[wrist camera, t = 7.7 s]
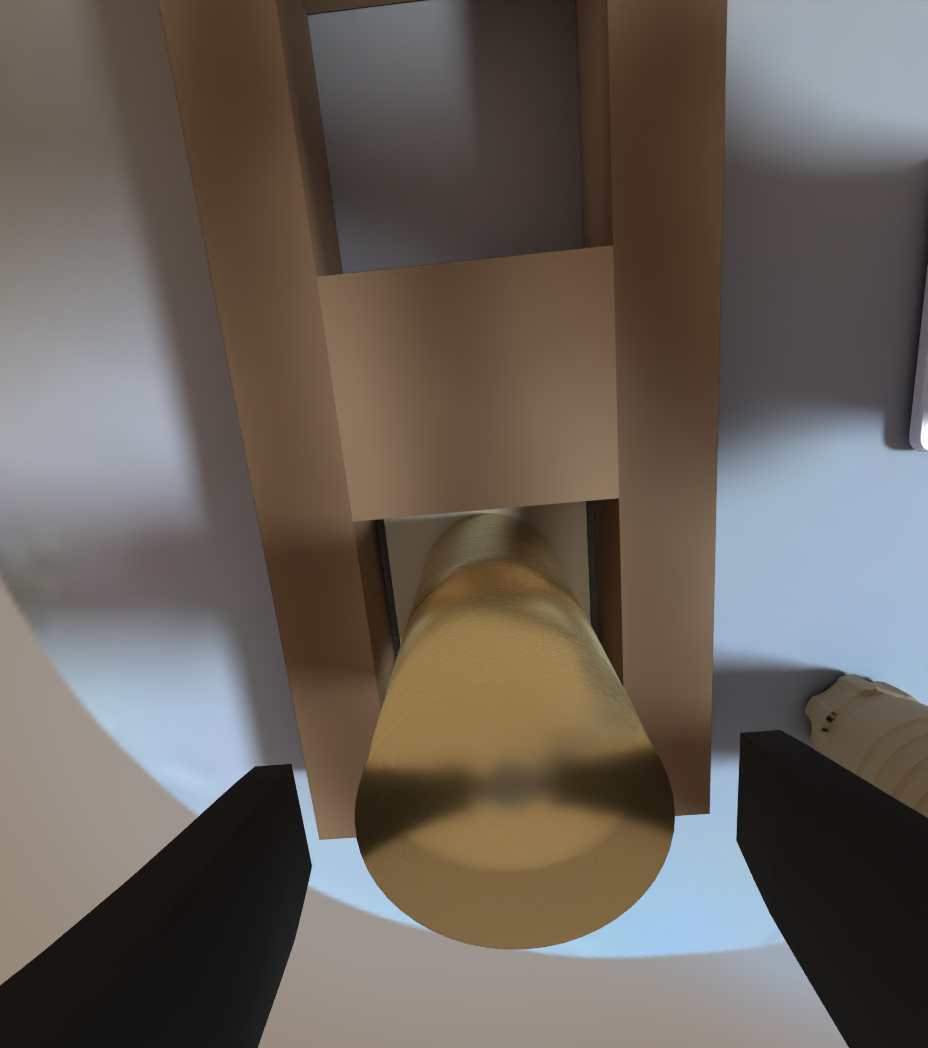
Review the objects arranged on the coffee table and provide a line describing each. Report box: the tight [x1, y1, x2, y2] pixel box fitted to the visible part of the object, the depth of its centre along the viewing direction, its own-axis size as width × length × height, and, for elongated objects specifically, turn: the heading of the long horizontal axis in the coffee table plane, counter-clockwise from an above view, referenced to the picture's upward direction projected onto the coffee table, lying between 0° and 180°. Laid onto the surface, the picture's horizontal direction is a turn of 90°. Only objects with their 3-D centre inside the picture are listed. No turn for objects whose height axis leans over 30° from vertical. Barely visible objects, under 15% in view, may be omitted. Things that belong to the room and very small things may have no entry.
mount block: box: [158, 0, 727, 840], centre depth 14 cm, size 12×26×3 cm, turn 5°
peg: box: [354, 513, 675, 949], centre depth 12 cm, size 4×4×10 cm
